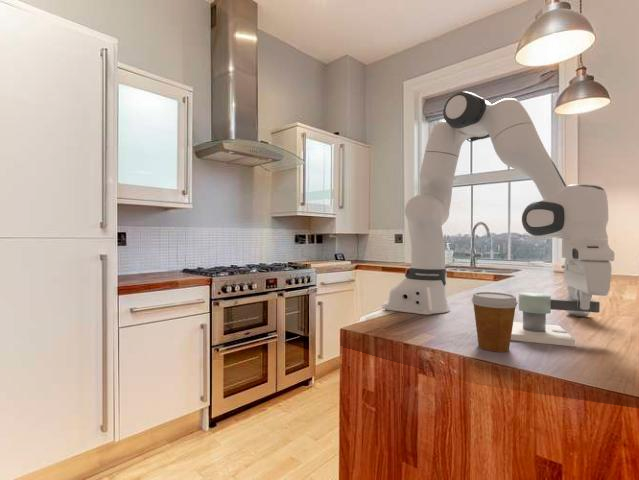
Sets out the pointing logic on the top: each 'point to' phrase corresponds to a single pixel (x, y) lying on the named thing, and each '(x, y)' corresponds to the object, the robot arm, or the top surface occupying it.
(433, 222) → the robot arm
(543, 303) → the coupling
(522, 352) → the top surface
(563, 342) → the lock base
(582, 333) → the top surface
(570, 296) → the plastic bottle
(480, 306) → the disposable coffee cup
